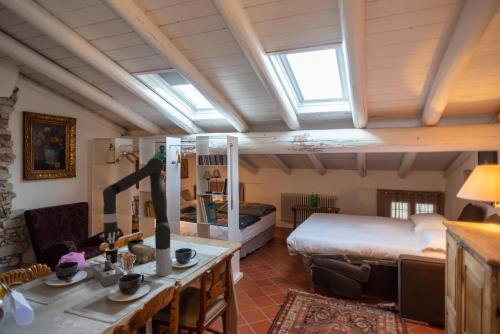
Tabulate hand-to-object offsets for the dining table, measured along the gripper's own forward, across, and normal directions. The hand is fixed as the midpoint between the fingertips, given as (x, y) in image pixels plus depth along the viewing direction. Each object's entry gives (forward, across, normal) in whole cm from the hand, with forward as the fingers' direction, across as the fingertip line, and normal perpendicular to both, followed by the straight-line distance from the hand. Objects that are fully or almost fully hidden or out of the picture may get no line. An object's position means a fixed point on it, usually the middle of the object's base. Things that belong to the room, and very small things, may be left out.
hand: (111, 249), depth 183 cm
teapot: (+21, +13, -37) cm, 44 cm away
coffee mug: (+21, -11, -37) cm, 43 cm away
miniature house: (+21, -30, -23) cm, 43 cm away
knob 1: (+19, 0, -15) cm, 25 cm away
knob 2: (+19, 0, 0) cm, 19 cm away
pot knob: (+15, 0, -8) cm, 17 cm away
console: (+21, 0, -8) cm, 22 cm away
